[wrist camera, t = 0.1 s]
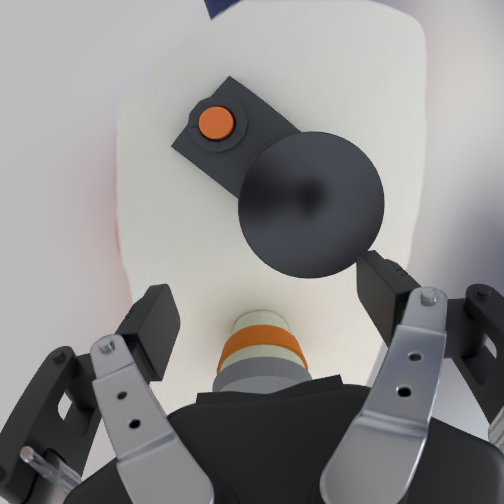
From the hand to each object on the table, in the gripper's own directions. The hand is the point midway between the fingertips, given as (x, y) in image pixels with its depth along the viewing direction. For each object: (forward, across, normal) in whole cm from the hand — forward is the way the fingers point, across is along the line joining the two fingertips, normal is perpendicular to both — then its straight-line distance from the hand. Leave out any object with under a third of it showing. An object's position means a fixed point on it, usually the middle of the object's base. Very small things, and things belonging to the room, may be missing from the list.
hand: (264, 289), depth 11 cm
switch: (+22, +3, -9) cm, 24 cm away
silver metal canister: (+21, -4, -1) cm, 22 cm away
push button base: (+25, -1, -5) cm, 26 cm away
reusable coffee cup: (+26, +3, +22) cm, 34 cm away
